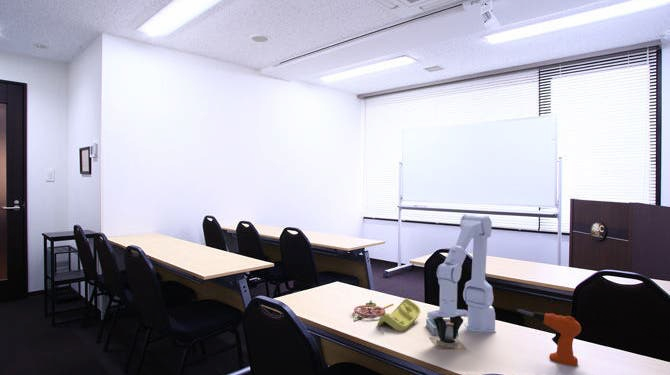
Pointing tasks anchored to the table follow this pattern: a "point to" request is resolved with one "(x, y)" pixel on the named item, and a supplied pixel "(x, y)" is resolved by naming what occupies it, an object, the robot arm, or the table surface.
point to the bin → (434, 326)
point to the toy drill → (560, 335)
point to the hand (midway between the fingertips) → (447, 338)
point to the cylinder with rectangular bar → (449, 333)
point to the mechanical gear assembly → (370, 310)
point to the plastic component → (402, 316)
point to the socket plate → (447, 344)
